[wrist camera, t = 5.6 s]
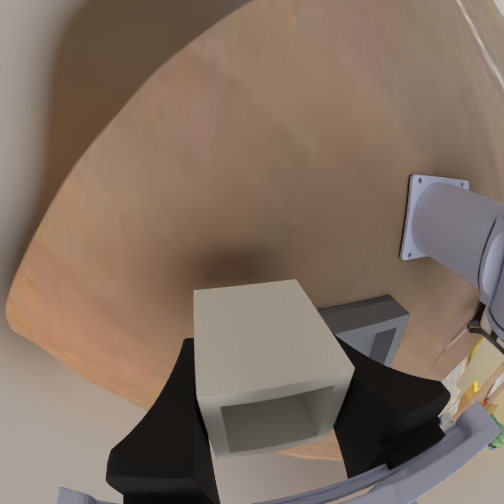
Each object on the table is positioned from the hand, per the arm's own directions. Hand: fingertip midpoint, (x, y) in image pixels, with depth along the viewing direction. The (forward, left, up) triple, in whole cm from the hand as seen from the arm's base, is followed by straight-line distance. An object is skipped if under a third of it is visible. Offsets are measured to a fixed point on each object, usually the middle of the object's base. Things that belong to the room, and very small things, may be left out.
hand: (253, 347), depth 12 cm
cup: (0, 0, -2) cm, 2 cm away
